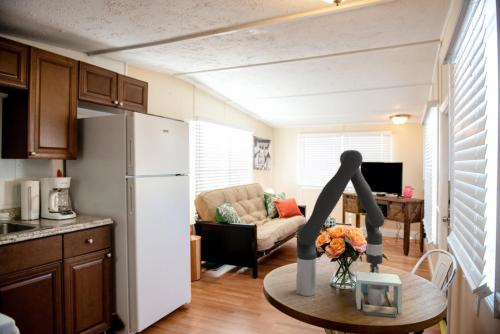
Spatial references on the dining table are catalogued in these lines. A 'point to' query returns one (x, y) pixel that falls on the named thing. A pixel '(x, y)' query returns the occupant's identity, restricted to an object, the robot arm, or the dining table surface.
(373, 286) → the cup
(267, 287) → the dining table surface
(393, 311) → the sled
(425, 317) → the dining table surface
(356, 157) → the robot arm
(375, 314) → the pit mat
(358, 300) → the tunnel
